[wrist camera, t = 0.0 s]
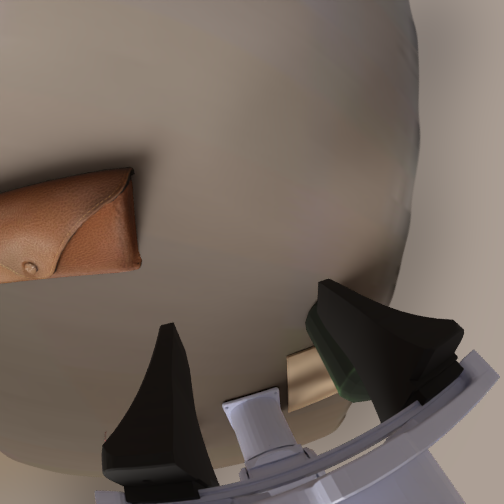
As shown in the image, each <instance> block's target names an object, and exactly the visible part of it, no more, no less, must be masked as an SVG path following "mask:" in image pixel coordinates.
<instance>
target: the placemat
mask: <svg viewBox="0 0 504 504" xmlns="http://www.w3.org/2000/svg"><path fill="white" fill-rule="evenodd" d="M287 380H288V412H292V411H294V410H297V409H300V408H302V407H305V406H307V405H310V404H312V403H315V402H317V401H319V400H322V399H324V398H326V397H329V396H331V395H333V394H335V393H338V391H337V389H336V387H335V385H334V383H333V381H332V379H331V377H330V375H329V373H328V371H327V369H326V367H325V365H324V363H323V361H322V359H321V357H320V356H319V354H318V352H317V350H316V348H315V346H313V347H311V348H308V349H305V350H303V351H300V352H297V353H294V354H292V355H289V356H287Z"/></svg>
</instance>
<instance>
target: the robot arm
mask: <svg viewBox="0 0 504 504" xmlns="http://www.w3.org/2000/svg"><path fill="white" fill-rule="evenodd" d="M317 313H318V315H319V317H320V319H321V321H322V323H323V324H324V326H325V328H326V329H327V331H328V332H329V333H330V335H331V336H332V337H333V339H334V340H335V341H336V343H337V344H338V345H339V346H340V348H341V349H342V350H343V352H344V353H345V354H346V356H347V357H348V358H349V360H350V361H351V363H352V364H353V366H354V368H355V370H356V371H357V373H358V375H359V376H360V378H361V380H362V382H363V384H364V386H365V388H366V390H367V392H368V394H369V396H370V398H371V400H372V402H373V404H374V407H375V409H376V412H377V414H378V416H379V419H380V421H381V424H380V425H378V426H376V427H374V428H373V429H371V430H369V431H367V432H365V433H363V434H362V435H360V436H358V437H356V438H354V439H352V440H350V441H348V442H346V443H344V444H342V445H340V446H338V447H336V448H334V449H331V450H329V451H327V452H325V453H323V454H320V455H318V456H317V455H316V453H315V452H314V451H313V450H312V449H309V448H307V447H306V448H302V446H301V444H298V445H297V442H296V440H295V438H294V436H293V434H292V432H291V430H290V428H289V426H288V424H287V422H286V419H285V417H284V415H283V413H282V411H281V409H280V398H279V389H278V388H277V387H275V388H272V389H269V390H266V391H262V392H259V393H256V394H253V395H250V396H246V397H243V398H239V399H236V400H232V401H229V402H225V403H223V404H222V406H223V409H224V411H225V413H226V415H227V417H228V419H229V421H230V424H231V426H232V428H233V429H234V430H235V433H236V436H237V439H238V442H239V445H240V448H241V450H242V453H243V456H244V459H245V462H244V463H245V466H246V468H247V469H246V468H242V469H241V471H240V473H239V477H240V480H241V481H239V482H235V483H231V484H227V485H222V486H220V485H219V483H218V481H217V478H216V475H215V473H214V470H213V467H212V465H211V462H210V459H209V456H208V453H207V450H206V447H205V444H204V441H203V438H202V434H201V431H200V427H199V424H198V420H197V416H196V411H195V405H194V398H193V391H192V383H191V375H190V368H189V364H188V360H187V356H186V351H185V349H184V346H183V344H182V342H181V339H180V337H179V334H178V332H177V330H176V327H175V325H174V322H173V323H169V324H165V325H161V326H160V328H159V333H158V337H157V341H156V345H155V348H154V351H153V355H152V358H151V361H150V364H149V367H148V369H147V372H146V375H145V377H144V380H143V382H142V384H141V387H140V389H139V391H138V393H137V395H136V397H135V399H134V401H133V402H132V404H131V406H130V408H129V410H128V411H127V413H126V414H125V416H124V417H123V419H122V420H121V422H120V423H119V425H118V426H117V428H116V429H115V431H114V432H113V433H112V434H111V436H110V437H109V438H108V439H107V440H106V442H105V443H104V444H103V445H102V471H103V475H104V476H105V477H106V478H108V479H109V480H112V481H113V482H116V483H118V484H120V485H122V486H124V491H125V492H118V491H97V490H96V491H95V500H96V504H466V503H465V502H464V500H463V499H462V497H461V496H460V494H459V493H458V491H457V490H456V489H455V487H454V486H453V484H452V483H451V481H450V480H449V478H448V477H447V476H446V474H445V473H444V471H443V470H442V468H441V467H440V466H439V464H438V463H437V461H436V460H435V459H434V457H433V456H432V454H431V453H430V452H429V450H428V448H429V447H430V446H432V445H433V444H434V443H436V442H437V441H438V440H439V439H440V438H442V437H443V436H444V435H445V434H446V433H447V432H448V431H450V430H451V429H452V428H453V427H454V426H455V425H456V424H457V423H458V422H459V421H460V420H461V419H462V418H463V417H464V416H466V415H467V414H468V413H469V411H471V409H472V408H474V406H475V405H476V404H477V403H478V402H479V401H480V400H481V399H482V398H483V397H484V396H485V395H486V393H487V392H488V391H489V390H490V389H491V387H492V386H493V385H494V384H495V383H496V382H497V380H498V379H499V378H500V376H499V375H498V374H497V373H496V372H495V371H494V369H493V368H492V367H491V366H490V365H489V364H488V363H487V362H486V361H485V360H484V359H483V358H482V357H481V356H480V355H479V354H478V353H477V352H476V351H475V350H472V351H471V352H470V353H469V354H468V355H467V356H466V357H464V358H463V359H462V361H461V362H460V363H458V362H457V361H456V360H457V358H458V357H457V355H456V354H455V353H454V352H455V350H456V349H457V347H458V345H459V344H460V342H461V340H462V338H463V335H464V329H462V327H460V326H459V325H458V324H457V323H456V322H455V321H454V320H449V319H436V318H429V317H423V316H417V315H413V314H410V313H406V312H402V311H399V310H396V309H393V308H390V307H387V306H385V305H382V304H380V303H378V302H375V301H373V300H371V299H369V298H366V297H364V296H362V295H360V294H358V293H356V292H354V291H352V290H350V289H349V288H347V287H345V286H343V285H341V284H339V283H337V282H335V281H333V280H331V279H326V280H323V281H320V282H318V302H317ZM391 434H392V435H391ZM388 436H389V437H388ZM387 437H388V438H387ZM385 438H387V439H386V441H385V442H384V444H382V445H380V446H379V447H377V448H375V449H374V450H372V451H370V452H368V453H367V454H365V455H363V456H361V457H359V458H358V459H355V460H353V461H351V462H349V463H348V464H345V465H343V466H342V467H339V468H337V469H336V470H333V471H331V472H329V473H327V474H325V470H326V469H328V468H330V467H332V466H335V465H337V464H339V463H341V462H343V461H345V460H347V459H349V458H351V457H353V456H355V455H357V454H359V453H360V452H362V451H364V450H366V449H368V448H370V447H371V446H373V445H375V444H377V443H378V442H380V441H382V440H383V439H385Z"/></svg>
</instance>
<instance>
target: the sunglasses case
mask: <svg viewBox="0 0 504 504" xmlns="http://www.w3.org/2000/svg"><path fill="white" fill-rule="evenodd" d="M133 174H134V170H133V168H131V167H127V168H119V169H110V170H102V171H97V172H90V173H85V174H80V175H75V176H70V177H65V178H60V179H55V180H49V181H45V182H42V183H38V184H34V185H30V186H26V187H22V188H19V189H15V190H11V191H7V192H4V193H0V283H10V282H18V281H28V280H36V279H45V278H58V277H68V276H81V275H92V274H103V273H119V272H126V271H131V270H136V269H139V268H140V266H141V262H142V259H141V257H140V254H139V252H138V243H137V234H136V224H135V215H134V214H135V211H134V201H133V199H134V198H133V186H132V180H131V175H133Z"/></svg>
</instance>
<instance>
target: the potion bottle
mask: <svg viewBox="0 0 504 504" xmlns="http://www.w3.org/2000/svg"><path fill="white" fill-rule="evenodd" d="M306 330H307V332H308V334H309V336H310V338H311V340H312V342H313V344H314V346H315V348H316V350H317V352H318V354H319V356H320V357H321V359H322V361H323V363H324V365H325V367H326V369H327V371H328V373H329V375H330V377H331V379H332V381H333V383H334V385H335V387H336V389H337V391H338V393H339V395H340V396H341V397H343V398H344V399H346V400H348V401H351V402H353V403H355V402H362V401H368V400H371V398H370V396H369V394H368V392H367V390H366V388H365V386H364V384H363V382H362V380H361V378H360V376H359V375H358V373H357V371H356V370H355V368H354V366H353V364H352V363H351V361H350V360H349V358H348V357H347V356H346V354H345V353H344V352H343V350H342V349H341V348H340V346H339V345H338V344H337V343H336V341H335V340H334V339H333V337H332V336H331V335H330V333H329V332H328V331H327V329H326V328H325V326H324V324H323V323H322V321H321V319H320V317H319V315H318V313H317V303H315V305H314V306H313V307H312V309H311V310H310V311H309V314H308V317H307V320H306ZM391 435H392V434H391Z"/></svg>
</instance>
